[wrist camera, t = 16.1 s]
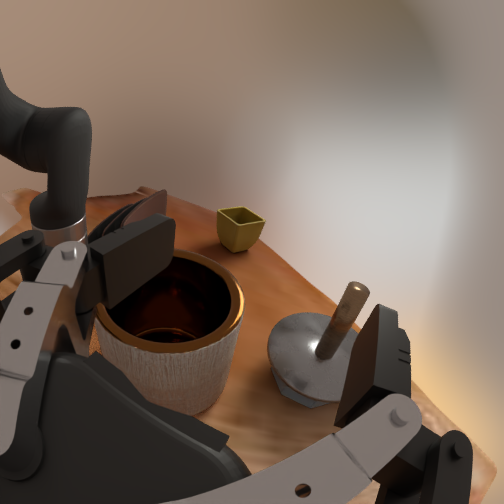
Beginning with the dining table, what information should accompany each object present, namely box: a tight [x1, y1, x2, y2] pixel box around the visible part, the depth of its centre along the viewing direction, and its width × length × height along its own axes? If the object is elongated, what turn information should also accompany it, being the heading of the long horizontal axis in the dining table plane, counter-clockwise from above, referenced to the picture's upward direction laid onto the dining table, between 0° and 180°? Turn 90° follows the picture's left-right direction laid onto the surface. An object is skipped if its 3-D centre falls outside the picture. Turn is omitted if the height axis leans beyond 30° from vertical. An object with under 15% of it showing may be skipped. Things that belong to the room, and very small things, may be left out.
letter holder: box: [87, 190, 167, 244], centre depth 56 cm, size 10×20×14 cm, turn 172°
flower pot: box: [217, 207, 266, 253], centre depth 69 cm, size 9×9×9 cm
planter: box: [94, 249, 245, 416], centre depth 34 cm, size 18×18×16 cm
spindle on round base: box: [267, 282, 370, 403], centre depth 36 cm, size 17×17×13 cm
